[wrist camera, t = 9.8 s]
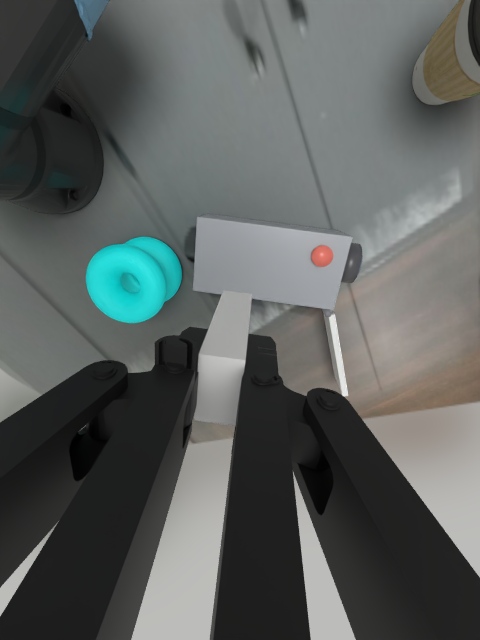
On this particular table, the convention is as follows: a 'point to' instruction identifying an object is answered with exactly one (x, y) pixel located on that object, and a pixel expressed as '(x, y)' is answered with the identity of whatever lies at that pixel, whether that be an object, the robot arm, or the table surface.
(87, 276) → the donuts
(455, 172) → the table surface
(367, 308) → the table surface
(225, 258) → the grey boxy piece
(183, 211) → the table surface
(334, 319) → the side door
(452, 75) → the coffee cup
